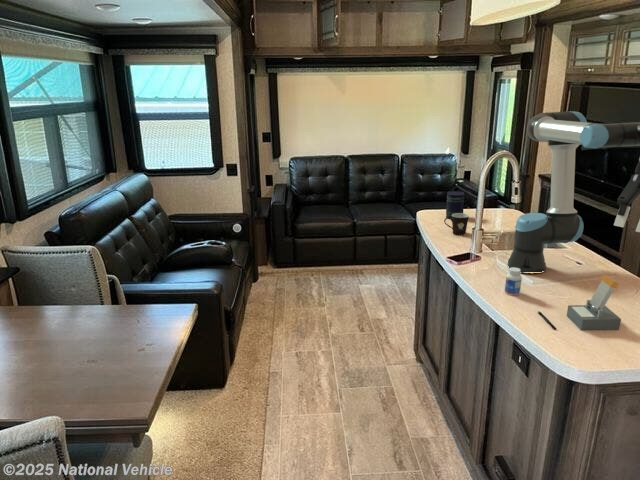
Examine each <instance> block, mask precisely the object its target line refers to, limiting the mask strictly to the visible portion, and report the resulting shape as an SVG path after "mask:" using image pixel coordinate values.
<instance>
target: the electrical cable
mask: <svg viewBox="0 0 640 480" xmlns="http://www.w3.org/2000/svg"><path fill="white" fill-rule="evenodd" d="M537 314H538V315H539V316H540V317H541V318H542V319H543V320H544V321H545V323H547V324H548V325H549V326H550V327H551V329H553V330H554V331H556V330H557V327H556V326H555V325H554V324H553V323H552V322H551V321H550V319H548V318H547V317H546V316H545V314H543V313H542V312H541V311H540V310H537Z"/></svg>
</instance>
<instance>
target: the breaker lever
mask: <svg viewBox="0 0 640 480" xmlns="http://www.w3.org/2000/svg"><path fill="white" fill-rule="evenodd" d="M600 281H601V282H600V283H599V285H598V287H597V289H596V291H595V292H594V294H593V296H592V297H591V299H590V300H591V301H590V302H589V303H588V306H589V307H590V308H591V309H592V310H593V311H594V312H595V313H597V314H598V310H602V309H603V307H604V306H606V304H607V302H609V301H608V300H609V299H610V297H611V295H612V294H613V293H614V291H615V289H617V288H618V286H619V284H620V283H619V282H618V281H617V280H615V279H614V278H613V277H611V276H610V275H607V274H603V276H602V277H601V279H600Z"/></svg>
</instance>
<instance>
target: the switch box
mask: <svg viewBox="0 0 640 480" xmlns="http://www.w3.org/2000/svg"><path fill="white" fill-rule="evenodd" d="M590 301H591V299H586V303H585V304H582V305H581V304H578V305H577V304H575V305H572V304H571V305H569V304H568V306H567V310H566V317H567V318H568V319H569V320H570V321H571V322H572V323H573V325H575V326H576V327H577V328H578V329H579V330H580V331H582V332H583V331H620V328H621V323H622V318H621V317H619V316H618V315H617V314H616V313H615V312H614V311H612V310H611V309H610V308H609V307H608V306H607V305H605V306H604V307H603V309H602V310H598V314H597V313H595V312H594V311H593V310H592V309H591V308H590V307H589V306H588V303H589V302H590Z"/></svg>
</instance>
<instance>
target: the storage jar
mask: <svg viewBox="0 0 640 480" xmlns="http://www.w3.org/2000/svg"><path fill="white" fill-rule="evenodd" d="M464 203H465V192H463V191H458V190H455V191H452V190H451V191H447V194H446V207H445V208H446V209H445V219H446V218H451V219H452V214H456V213H463V214H464Z"/></svg>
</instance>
